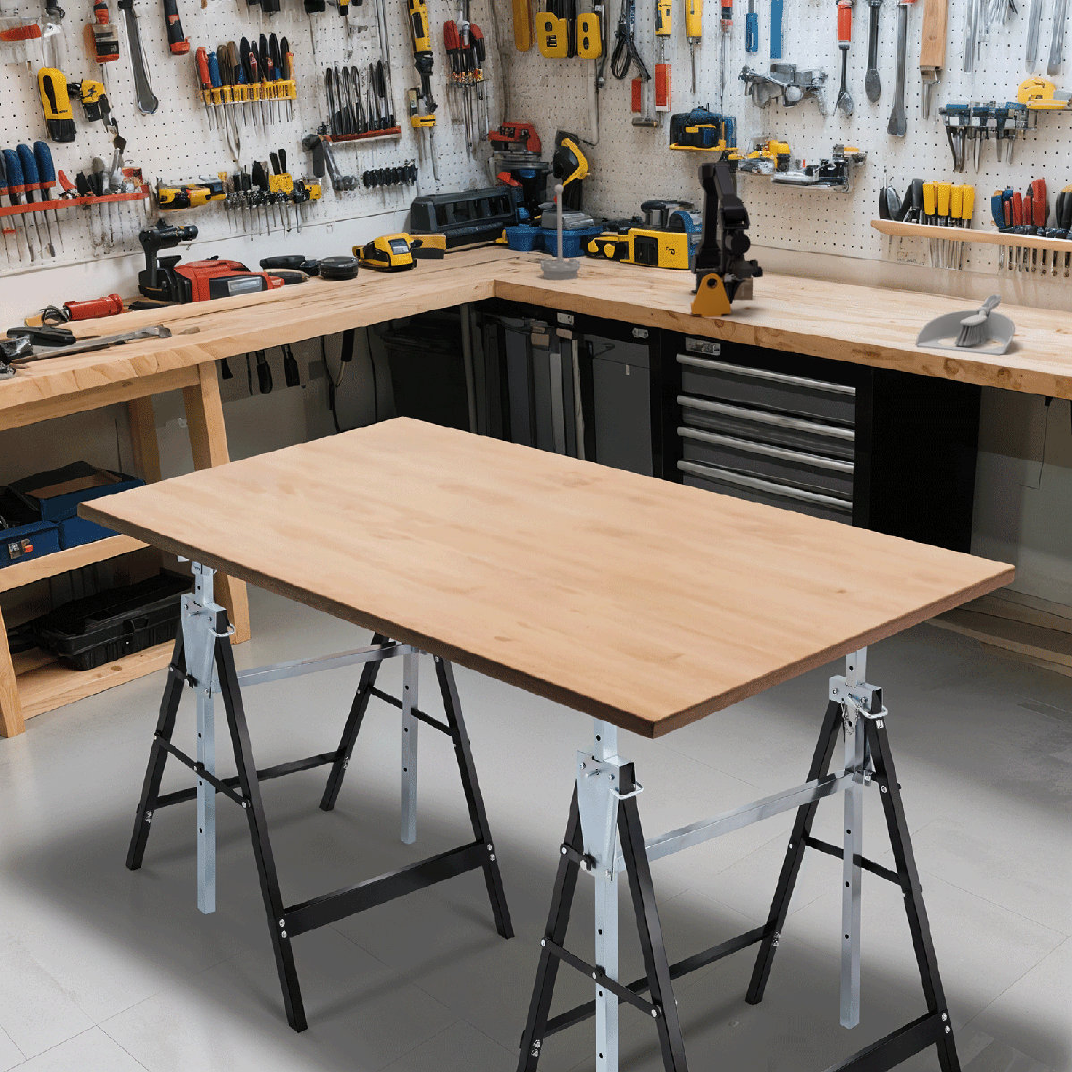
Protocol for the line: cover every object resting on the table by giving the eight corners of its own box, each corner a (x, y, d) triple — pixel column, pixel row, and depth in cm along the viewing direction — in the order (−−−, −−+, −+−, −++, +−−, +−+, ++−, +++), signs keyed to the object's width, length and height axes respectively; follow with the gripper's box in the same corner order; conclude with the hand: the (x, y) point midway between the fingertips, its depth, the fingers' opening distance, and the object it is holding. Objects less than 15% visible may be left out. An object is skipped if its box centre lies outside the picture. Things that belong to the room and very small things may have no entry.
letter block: (732, 296, 414) (732, 276, 412) (752, 296, 413) (753, 276, 411) (732, 300, 408) (733, 280, 406) (752, 300, 407) (753, 280, 405)
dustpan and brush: (912, 347, 346) (915, 310, 342) (952, 323, 372) (955, 288, 368) (1004, 357, 334) (1008, 318, 330) (1039, 331, 360) (1043, 296, 356)
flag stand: (586, 278, 449) (585, 184, 438) (550, 281, 444) (548, 187, 433) (570, 272, 460) (569, 181, 449) (534, 275, 455) (532, 183, 445)
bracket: (727, 311, 393) (729, 269, 389) (730, 316, 386) (731, 273, 382) (690, 311, 393) (691, 270, 389) (692, 316, 386) (693, 274, 382)
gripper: (719, 256, 375) (718, 312, 381) (775, 249, 383) (773, 304, 388) (697, 250, 385) (696, 305, 390) (752, 244, 392) (751, 298, 398)
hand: (730, 303), depth 392 cm, fingers closed
